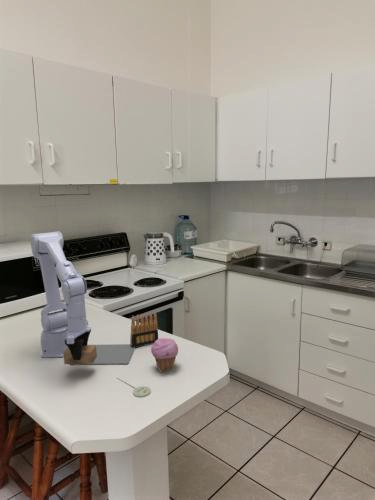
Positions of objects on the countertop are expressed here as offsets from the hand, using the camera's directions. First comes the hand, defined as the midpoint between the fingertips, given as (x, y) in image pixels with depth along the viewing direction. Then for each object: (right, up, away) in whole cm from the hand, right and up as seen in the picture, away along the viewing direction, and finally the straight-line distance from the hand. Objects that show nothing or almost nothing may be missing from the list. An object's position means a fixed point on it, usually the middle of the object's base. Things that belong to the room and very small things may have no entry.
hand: (80, 355), depth 120 cm
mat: (+5, -4, +14) cm, 15 cm away
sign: (+18, -8, -8) cm, 21 cm away
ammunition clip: (+18, -2, +21) cm, 28 cm away
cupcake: (+27, -5, +3) cm, 28 cm away
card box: (0, -2, 0) cm, 2 cm away
